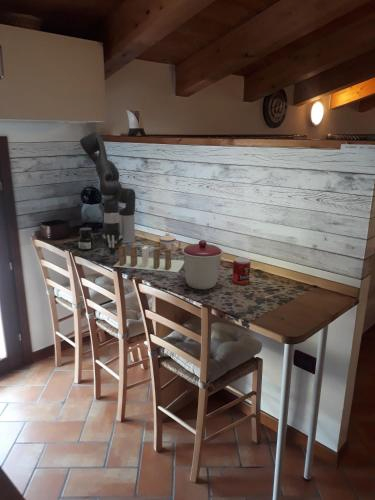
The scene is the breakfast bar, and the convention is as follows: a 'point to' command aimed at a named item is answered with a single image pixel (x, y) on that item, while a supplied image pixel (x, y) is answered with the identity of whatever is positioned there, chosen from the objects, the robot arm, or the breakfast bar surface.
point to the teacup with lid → (167, 244)
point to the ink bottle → (86, 239)
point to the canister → (202, 264)
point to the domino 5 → (167, 258)
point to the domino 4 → (156, 257)
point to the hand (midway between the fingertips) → (112, 254)
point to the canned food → (241, 270)
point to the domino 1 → (122, 255)
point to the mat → (175, 264)
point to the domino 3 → (145, 257)
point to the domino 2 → (133, 255)
